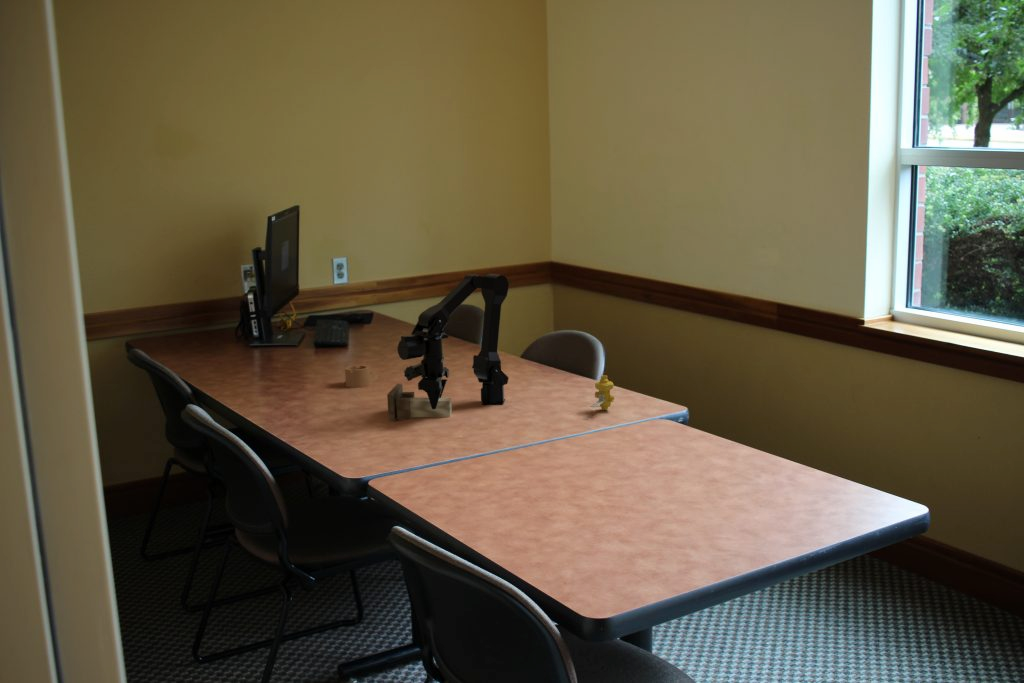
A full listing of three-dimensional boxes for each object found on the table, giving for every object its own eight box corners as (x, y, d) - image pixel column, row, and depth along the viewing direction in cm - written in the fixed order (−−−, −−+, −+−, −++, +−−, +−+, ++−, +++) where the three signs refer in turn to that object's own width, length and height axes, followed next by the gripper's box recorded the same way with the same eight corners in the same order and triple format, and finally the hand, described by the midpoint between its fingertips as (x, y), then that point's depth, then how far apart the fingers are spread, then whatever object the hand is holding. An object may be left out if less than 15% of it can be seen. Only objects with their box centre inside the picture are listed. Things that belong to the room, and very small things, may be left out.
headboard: (416, 409, 300) (415, 383, 298) (407, 421, 286) (406, 394, 285) (398, 409, 300) (397, 383, 299) (388, 421, 287) (387, 394, 285)
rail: (452, 414, 294) (451, 397, 293) (450, 417, 290) (449, 401, 289) (401, 414, 295) (401, 397, 294) (399, 417, 291) (398, 401, 290)
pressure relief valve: (616, 407, 294) (615, 374, 293) (602, 417, 284) (602, 383, 282) (598, 406, 297) (598, 373, 295) (584, 416, 286) (583, 381, 284)
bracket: (367, 390, 328) (365, 370, 326) (342, 390, 329) (341, 370, 328) (381, 378, 345) (380, 359, 344) (358, 378, 346) (357, 359, 345)
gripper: (411, 349, 299) (414, 399, 302) (399, 361, 281) (401, 415, 283) (448, 348, 298) (450, 399, 301) (438, 361, 280) (440, 414, 282)
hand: (435, 406), depth 292 cm, fingers open, 5 cm apart
